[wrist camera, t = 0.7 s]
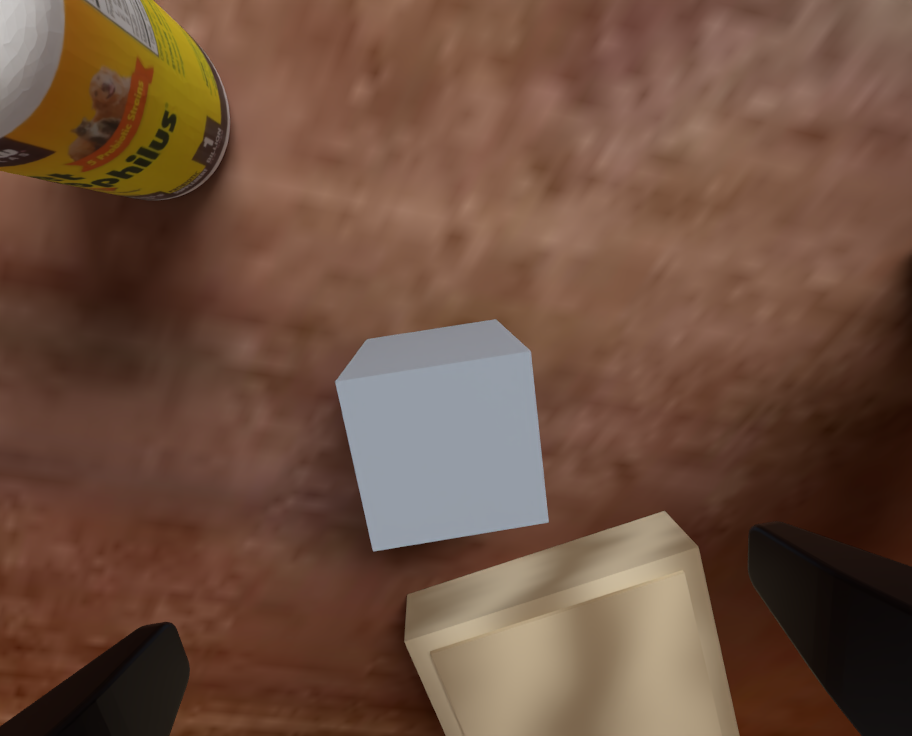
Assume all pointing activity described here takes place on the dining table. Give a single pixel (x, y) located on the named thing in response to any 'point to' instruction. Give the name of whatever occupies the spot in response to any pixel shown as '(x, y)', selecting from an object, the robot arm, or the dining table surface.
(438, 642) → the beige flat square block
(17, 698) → the dining table surface
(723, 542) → the dining table surface
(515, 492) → the gray block
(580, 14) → the dining table surface
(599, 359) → the dining table surface
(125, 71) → the supplement bottle
